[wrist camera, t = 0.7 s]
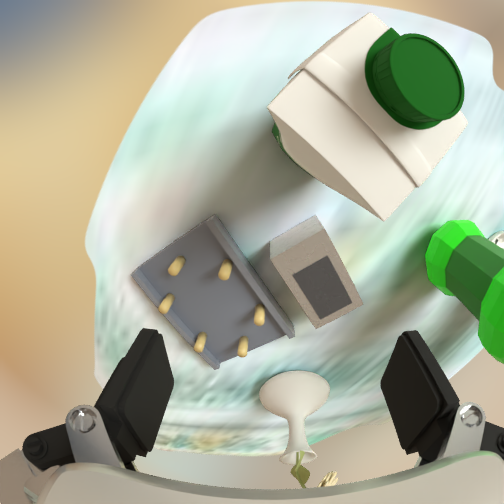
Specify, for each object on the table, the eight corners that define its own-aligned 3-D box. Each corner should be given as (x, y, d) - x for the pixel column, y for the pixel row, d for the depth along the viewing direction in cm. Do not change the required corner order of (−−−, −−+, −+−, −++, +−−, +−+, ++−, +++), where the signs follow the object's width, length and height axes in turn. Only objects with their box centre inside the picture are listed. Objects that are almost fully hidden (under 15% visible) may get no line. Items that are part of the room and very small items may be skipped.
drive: (351, 281, 33) (363, 304, 28) (310, 303, 34) (315, 329, 29) (315, 214, 30) (324, 228, 25) (270, 240, 32) (270, 259, 26)
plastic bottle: (441, 291, 32) (535, 413, 9) (399, 257, 31) (520, 405, 8) (477, 237, 29) (595, 330, 6) (440, 194, 28) (599, 283, 4)
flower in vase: (319, 406, 42) (331, 530, 19) (256, 404, 43) (246, 533, 19) (339, 357, 37) (373, 511, 14) (264, 353, 38) (256, 521, 14)
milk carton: (371, 131, 26) (503, 127, 7) (318, 187, 29) (399, 258, 10) (313, 76, 24) (380, -20, 6) (258, 133, 27) (236, 102, 8)
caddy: (293, 326, 36) (296, 345, 32) (217, 359, 39) (212, 378, 35) (215, 213, 30) (207, 223, 27) (137, 267, 34) (124, 281, 30)
